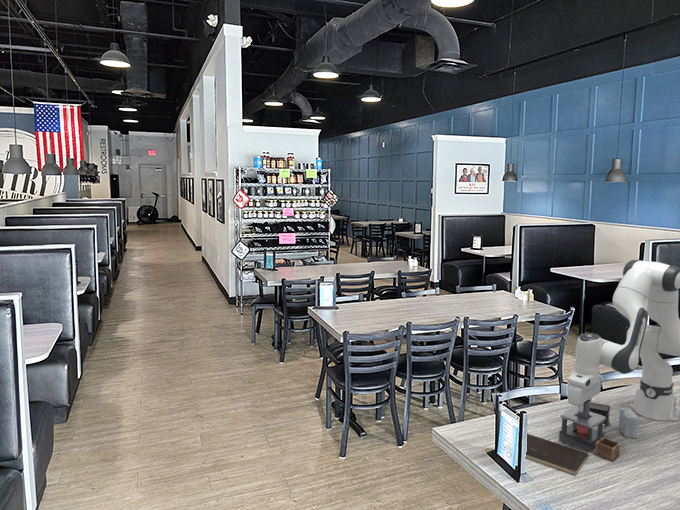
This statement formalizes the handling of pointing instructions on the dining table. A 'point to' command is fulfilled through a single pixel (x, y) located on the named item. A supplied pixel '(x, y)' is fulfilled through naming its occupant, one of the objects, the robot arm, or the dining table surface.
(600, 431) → the grey ball cage
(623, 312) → the robot arm
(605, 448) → the brown wooden box
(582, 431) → the button
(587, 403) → the dark gray rectangular block
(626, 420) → the medicine box
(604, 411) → the electrical switch
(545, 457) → the hardcover book
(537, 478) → the dining table surface
